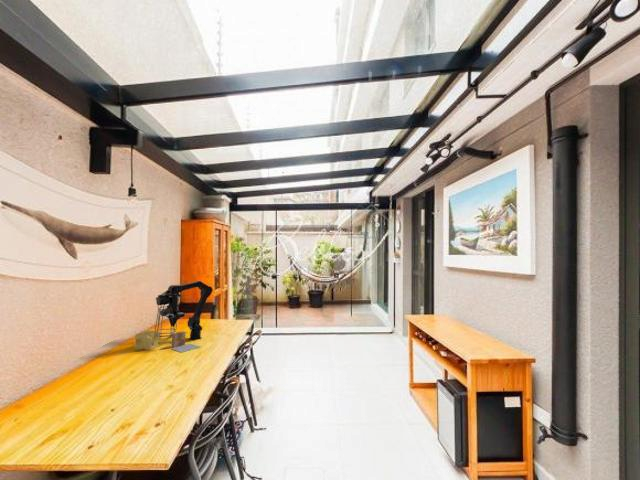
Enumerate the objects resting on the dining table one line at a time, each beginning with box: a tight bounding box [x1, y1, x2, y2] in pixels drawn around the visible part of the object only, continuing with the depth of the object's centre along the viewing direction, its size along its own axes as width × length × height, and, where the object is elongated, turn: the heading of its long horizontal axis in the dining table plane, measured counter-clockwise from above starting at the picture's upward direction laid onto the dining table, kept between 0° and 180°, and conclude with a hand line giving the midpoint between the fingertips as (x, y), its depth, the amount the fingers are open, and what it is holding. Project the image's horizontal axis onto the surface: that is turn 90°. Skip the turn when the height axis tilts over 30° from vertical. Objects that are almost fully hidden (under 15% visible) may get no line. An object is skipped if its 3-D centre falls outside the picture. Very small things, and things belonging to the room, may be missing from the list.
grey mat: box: [171, 343, 201, 353], centre depth 202 cm, size 14×12×1 cm
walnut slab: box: [171, 330, 186, 348], centre depth 207 cm, size 8×3×9 cm, turn 147°
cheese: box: [134, 330, 160, 351], centre depth 202 cm, size 10×11×10 cm
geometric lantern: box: [154, 290, 181, 340], centre depth 227 cm, size 16×16×35 cm
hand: (172, 326), depth 211 cm, fingers closed
